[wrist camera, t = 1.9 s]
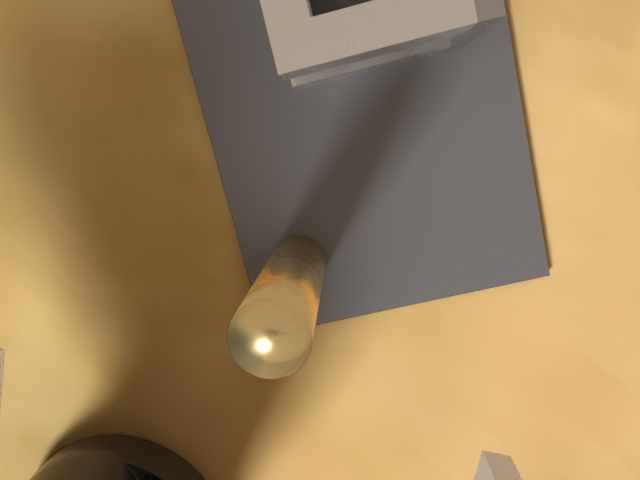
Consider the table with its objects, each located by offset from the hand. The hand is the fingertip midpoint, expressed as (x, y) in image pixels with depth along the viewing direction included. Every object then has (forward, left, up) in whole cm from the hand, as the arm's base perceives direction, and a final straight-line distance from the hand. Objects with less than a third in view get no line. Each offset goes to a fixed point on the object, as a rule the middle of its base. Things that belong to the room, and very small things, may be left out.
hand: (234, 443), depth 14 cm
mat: (+6, +8, -21) cm, 23 cm away
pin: (0, 0, -20) cm, 20 cm away
